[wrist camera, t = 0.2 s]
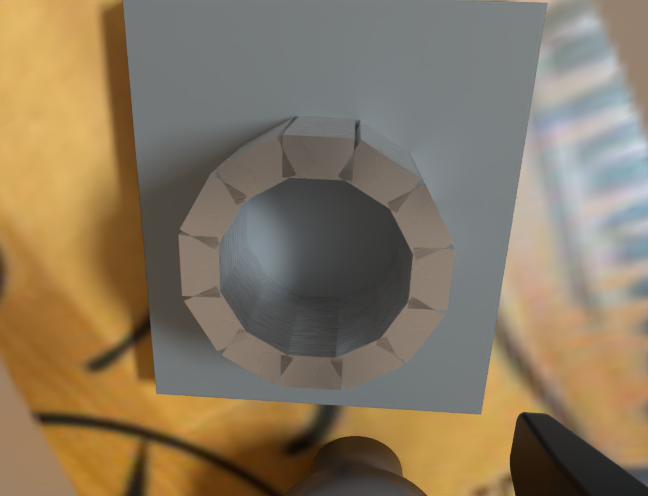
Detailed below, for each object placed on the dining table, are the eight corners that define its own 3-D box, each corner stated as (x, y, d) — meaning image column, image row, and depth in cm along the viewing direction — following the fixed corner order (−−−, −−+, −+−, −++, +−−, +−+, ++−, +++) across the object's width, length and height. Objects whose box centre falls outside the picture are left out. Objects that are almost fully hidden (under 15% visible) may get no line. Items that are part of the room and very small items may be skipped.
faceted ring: (421, 329, 22) (436, 396, 18) (219, 317, 22) (187, 380, 18) (443, 121, 19) (468, 142, 15) (212, 112, 19) (172, 130, 15)
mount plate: (473, 393, 25) (480, 414, 23) (167, 374, 25) (156, 393, 24) (533, 6, 19) (547, 2, 18) (138, -8, 20) (121, -12, 18)
